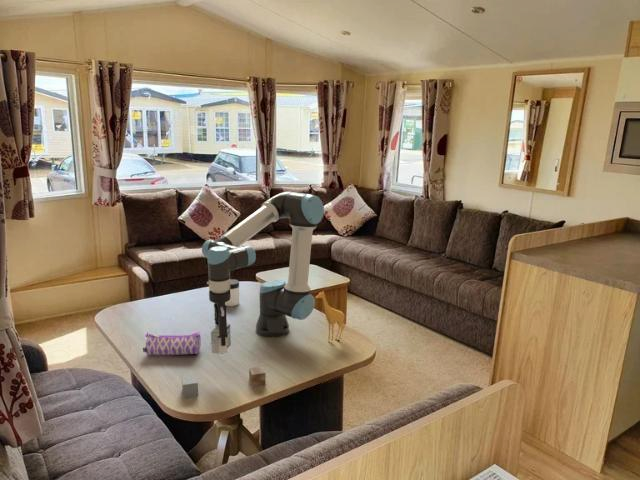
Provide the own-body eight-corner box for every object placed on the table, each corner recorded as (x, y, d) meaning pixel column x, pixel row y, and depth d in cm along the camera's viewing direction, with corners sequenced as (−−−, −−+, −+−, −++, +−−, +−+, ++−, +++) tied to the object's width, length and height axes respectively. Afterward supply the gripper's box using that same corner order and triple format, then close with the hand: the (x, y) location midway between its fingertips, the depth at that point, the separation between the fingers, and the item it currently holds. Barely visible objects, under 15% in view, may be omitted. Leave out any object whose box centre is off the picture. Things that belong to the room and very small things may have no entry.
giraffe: (317, 349, 202) (318, 294, 196) (311, 345, 206) (312, 290, 199) (347, 340, 211) (349, 287, 205) (341, 336, 215) (343, 284, 209)
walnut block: (262, 378, 179) (262, 366, 177) (265, 385, 174) (265, 372, 173) (249, 380, 177) (249, 368, 176) (251, 387, 172) (251, 374, 171)
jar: (239, 306, 245) (239, 284, 242) (223, 307, 243) (223, 285, 240) (238, 299, 254) (238, 278, 251) (223, 300, 252) (222, 279, 249)
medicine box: (222, 354, 172) (222, 332, 170) (211, 353, 173) (210, 331, 171) (231, 344, 180) (230, 323, 177) (220, 343, 180) (219, 322, 178)
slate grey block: (196, 388, 171) (196, 375, 170) (198, 395, 166) (197, 382, 165) (182, 390, 169) (182, 377, 168) (183, 397, 165) (182, 384, 163)
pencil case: (143, 359, 189) (141, 337, 187) (148, 348, 198) (147, 327, 196) (199, 358, 192) (199, 336, 189) (202, 347, 201) (202, 326, 198)
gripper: (205, 280, 179) (207, 335, 185) (212, 301, 159) (214, 362, 165) (225, 278, 181) (227, 333, 187) (235, 299, 162) (236, 359, 167)
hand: (221, 346), depth 176 cm, fingers closed on medicine box, 9 cm apart
